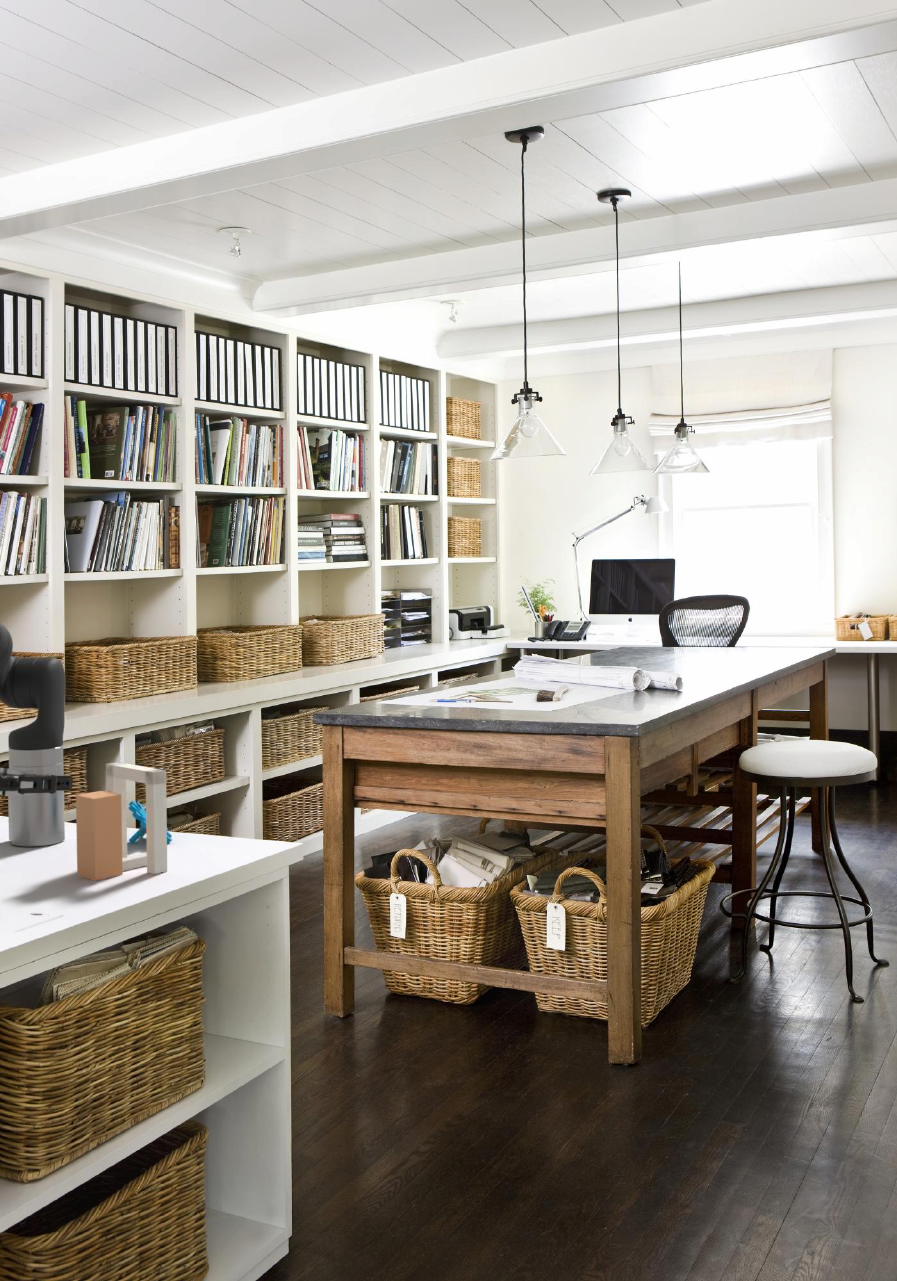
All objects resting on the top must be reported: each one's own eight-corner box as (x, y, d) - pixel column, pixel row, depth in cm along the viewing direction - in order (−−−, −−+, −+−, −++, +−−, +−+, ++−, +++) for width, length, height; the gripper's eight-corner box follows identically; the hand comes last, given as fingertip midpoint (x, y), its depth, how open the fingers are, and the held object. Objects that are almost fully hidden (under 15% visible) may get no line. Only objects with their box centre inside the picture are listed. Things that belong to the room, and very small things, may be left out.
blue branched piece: (167, 840, 201) (127, 799, 201) (143, 864, 200) (103, 824, 201) (181, 834, 212) (143, 796, 212) (158, 857, 211) (120, 819, 212)
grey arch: (107, 861, 193) (105, 763, 192) (120, 858, 195) (118, 761, 194) (154, 874, 184) (153, 772, 183) (167, 871, 186) (166, 770, 185)
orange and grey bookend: (77, 875, 184) (75, 794, 183) (150, 858, 194) (149, 782, 194) (95, 880, 181) (93, 798, 180) (168, 863, 191) (167, 786, 191)
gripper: (-11, 758, 158) (85, 758, 172) (-71, 753, 166) (26, 754, 180) (-16, 813, 158) (81, 809, 171) (-75, 805, 166) (22, 802, 179)
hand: (53, 781), depth 176 cm, fingers open, 8 cm apart
